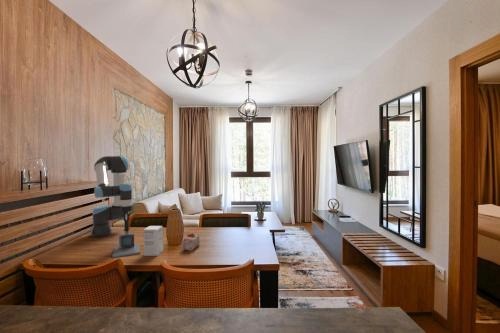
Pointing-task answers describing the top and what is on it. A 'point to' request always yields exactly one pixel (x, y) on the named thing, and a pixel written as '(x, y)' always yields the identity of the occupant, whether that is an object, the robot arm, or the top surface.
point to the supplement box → (153, 240)
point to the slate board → (126, 251)
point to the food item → (190, 242)
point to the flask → (126, 241)
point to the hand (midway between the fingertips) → (127, 239)
